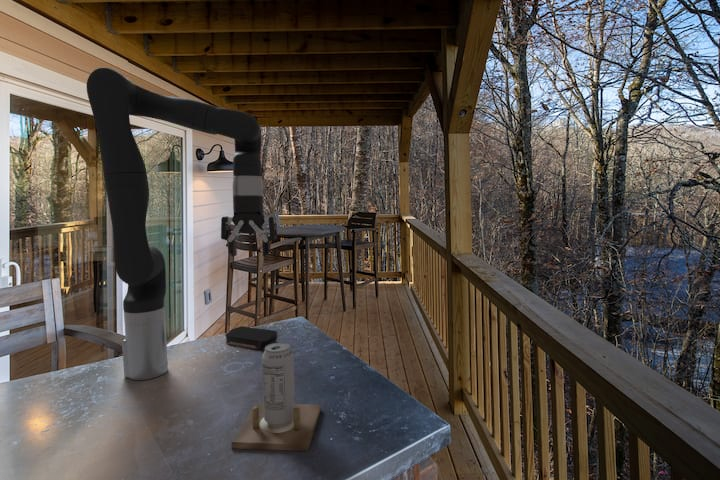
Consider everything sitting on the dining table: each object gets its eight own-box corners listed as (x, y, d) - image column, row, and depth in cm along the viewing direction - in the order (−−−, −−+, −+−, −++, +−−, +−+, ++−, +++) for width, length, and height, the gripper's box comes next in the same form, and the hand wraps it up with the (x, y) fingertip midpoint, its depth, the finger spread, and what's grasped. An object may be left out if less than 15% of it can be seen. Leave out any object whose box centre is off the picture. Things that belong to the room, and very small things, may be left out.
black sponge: (280, 342, 127) (280, 331, 127) (264, 352, 120) (263, 340, 119) (239, 336, 134) (239, 325, 134) (221, 344, 126) (221, 333, 126)
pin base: (231, 448, 73) (230, 420, 72) (256, 408, 87) (255, 385, 86) (308, 450, 72) (307, 423, 71) (320, 410, 86) (320, 386, 85)
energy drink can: (301, 418, 80) (299, 344, 79) (280, 432, 75) (277, 354, 74) (279, 410, 84) (277, 339, 82) (257, 423, 78) (254, 348, 77)
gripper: (215, 194, 101) (217, 258, 103) (270, 194, 100) (272, 258, 102) (226, 194, 109) (229, 254, 110) (278, 194, 108) (280, 254, 109)
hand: (249, 256), depth 106 cm, fingers open, 8 cm apart
